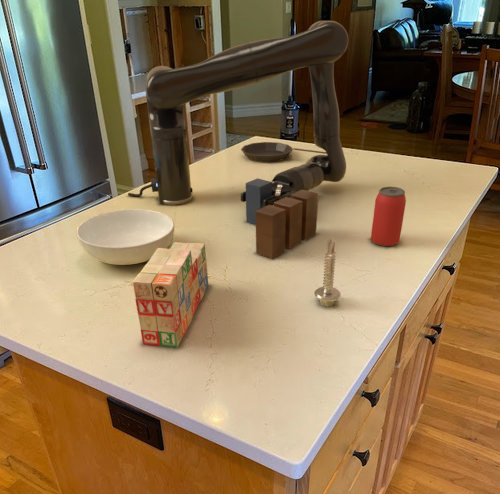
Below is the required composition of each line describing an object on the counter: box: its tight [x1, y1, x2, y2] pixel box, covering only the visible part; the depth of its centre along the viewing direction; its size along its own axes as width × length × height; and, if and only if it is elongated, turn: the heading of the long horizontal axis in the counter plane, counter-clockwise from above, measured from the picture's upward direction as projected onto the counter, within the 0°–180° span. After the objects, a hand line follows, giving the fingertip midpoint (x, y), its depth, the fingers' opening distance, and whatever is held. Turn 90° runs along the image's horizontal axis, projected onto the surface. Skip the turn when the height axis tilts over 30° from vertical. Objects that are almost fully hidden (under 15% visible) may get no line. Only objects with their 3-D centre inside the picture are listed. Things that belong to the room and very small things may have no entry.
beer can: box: [370, 186, 407, 247], centre depth 116 cm, size 7×7×12 cm
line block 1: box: [255, 205, 286, 260], centre depth 112 cm, size 5×5×10 cm
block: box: [245, 177, 272, 226], centre depth 127 cm, size 5×5×10 cm
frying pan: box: [240, 141, 327, 163], centre depth 174 cm, size 18×32×4 cm, turn 62°
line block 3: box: [290, 190, 319, 241], centre depth 120 cm, size 5×5×10 cm
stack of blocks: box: [132, 241, 209, 348], centre depth 91 cm, size 21×6×12 cm, turn 170°
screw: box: [313, 239, 342, 307], centre depth 93 cm, size 13×5×5 cm
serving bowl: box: [76, 208, 175, 266], centre depth 113 cm, size 21×21×7 cm
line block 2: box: [273, 197, 303, 250], centre depth 116 cm, size 5×5×10 cm
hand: (252, 201), depth 125 cm, fingers open, 6 cm apart
